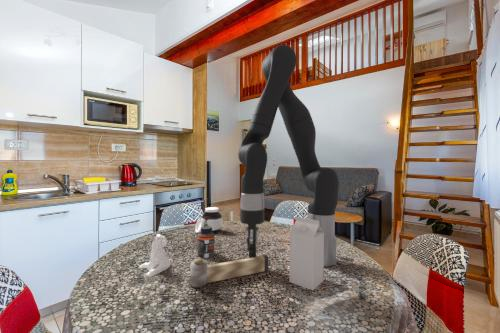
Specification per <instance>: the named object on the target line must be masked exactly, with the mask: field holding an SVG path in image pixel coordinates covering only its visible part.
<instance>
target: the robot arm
mask: <svg viewBox="0 0 500 333" xmlns="http://www.w3.org/2000/svg"><path fill="white" fill-rule="evenodd" d="M261 63H262V64H261V70H262V74H263V76H264V78H265V81H266V84H265V87H264V89H263V91H262V93H261V95H260V97H259V99H258V101H257V103H256V105H255V107H254V110H253V113H252V115H251V119H250V122H249V126H248V129H247V132H246V133H245V135H244V137H243V138H242V141H241V143H240V146H239V149H238V152H237V156H238V160H239V162H240V164H242V165H244V166H245V172H244V174H243V175H241V176H242V177H241V181H240V201H239V202H240V222H241V224H244V225H247V226H246V228H245V235H246V245H247V251H248V258H252V257H257V248H258V246H257V245H258V243H259V234H260V233H259V232H260V227H259V226H257V225H261V224H263V223H264V222H265V197H264V196H265V194H264V179H265V178H264V177H265V173H266V169H267V166H268V165H267V164H268V153H267V149H266V148H265V146H264V145H263V143H264V141H265V140H266V139H268V138H269V137H270V135H271V131H272V128H273V124H274V121H275V119H276V115H277V112H278V110H279V113H280V115H281V118H282V120H283V124H284V126H285V127H284V128H285V129H286V131H287V134H288V137H289V139H290V141H291V144H292V148H293V150H294V153H295V156H296V158H297V161H298V165H299V168H300V169H299V170H300V173H301V176H302V179H303V180H302V181H303V183H304V186H305V187H306V189H307V190H308V191H309V192H311V193H314V197H313V202H311V203H308V205H307V219H311V220H317V221H319V225H320V227H321V228H322V230H323V232H324V267H325V268H326V267H331V266H337V240H338V239H337V236H336V234H335V233H336V230H335V229H336V228H335V227H336V224H335V222H336V208H337V206H338V201H339V200H338V199H339V188H340V186H339V183H340V182H339V176H338V174H337V172H336V171H335V170H334V169H332V168H330V167H321V165H320V162H319V160H318V158H317V155H316V150H315V149H316V148H315V147H316V135H317V133H316V126H315V124H314V120H313V117H312V115H311V112H310V110H309V109H308V107H307V106H306V104H304V103H303V101H301V100H300V99H299V98H298V96H297V95H296V94H295V93H294V91H293V89H292V86H291V84H290V78H291V77H292V74H293V72H294V71H295V68H296V65H297V55H296V52H295V50H294V49H293V48H292V47H291V46H289V45H287V44H280V45H277V46H276V47H275V48H273V49H272V50H271V51H270V52H269V53H268V54H267V55H266V56H265V57H264V59H263V61H262V62H261Z"/></svg>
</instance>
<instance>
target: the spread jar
mask: <svg viewBox="0 0 500 333" xmlns="http://www.w3.org/2000/svg"><path fill="white" fill-rule="evenodd" d="M204 210H205V211H204V213H203V214H202V216H201V218H198V219H197V220H196V222H195V226H194V228H195V229H194V230H195V233H197V234H199V233H201V227H203V226H211V227H212V232H213V233H214V234H217V233H218V232H220V231H221V230H222V228H223V216H222V214H221V213H220V209H219V207H216V206H212V207H211V206H210V207H209V206H208V207H205V208H204Z"/></svg>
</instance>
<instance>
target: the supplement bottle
mask: <svg viewBox="0 0 500 333" xmlns="http://www.w3.org/2000/svg"><path fill="white" fill-rule="evenodd" d="M197 234H198V235H197V257H199V258H202V259H207V258H208V259H209V258H212V257H214V255H215V236H216V235H215V233H213V232H212V227H211V226H203V227H201V232H200V233H197Z"/></svg>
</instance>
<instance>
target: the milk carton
mask: <svg viewBox="0 0 500 333" xmlns="http://www.w3.org/2000/svg"><path fill="white" fill-rule="evenodd" d="M288 279H289V283H292V284H295V285H297V286H299V287H303V288H305V289H307V290H310V291H314V290H315V289H316V288H318V286H319V285H321V283H322V282H324V232H323V230H322V228H321V227H320V225H319V221H317V220H311V219H308V218H305V217H298V216H296V217H295V221H294V224H293V226H292V228H291V230H290V231H289V278H288Z"/></svg>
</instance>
